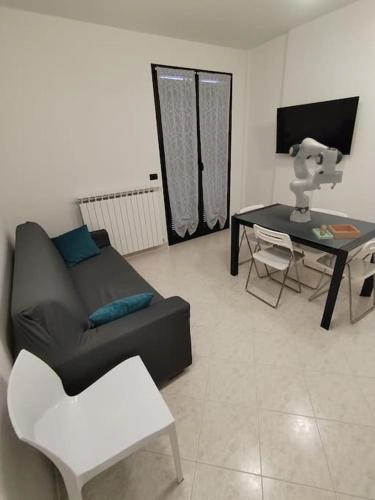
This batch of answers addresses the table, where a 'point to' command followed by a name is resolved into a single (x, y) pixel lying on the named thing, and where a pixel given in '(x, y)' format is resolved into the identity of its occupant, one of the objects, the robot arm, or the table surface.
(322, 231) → the birch cylinder
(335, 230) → the orange hollow square box
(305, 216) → the robot arm
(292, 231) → the table surface
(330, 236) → the green tray
